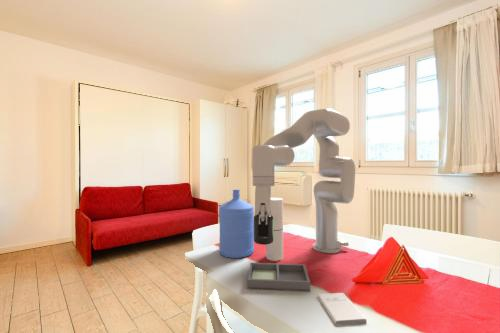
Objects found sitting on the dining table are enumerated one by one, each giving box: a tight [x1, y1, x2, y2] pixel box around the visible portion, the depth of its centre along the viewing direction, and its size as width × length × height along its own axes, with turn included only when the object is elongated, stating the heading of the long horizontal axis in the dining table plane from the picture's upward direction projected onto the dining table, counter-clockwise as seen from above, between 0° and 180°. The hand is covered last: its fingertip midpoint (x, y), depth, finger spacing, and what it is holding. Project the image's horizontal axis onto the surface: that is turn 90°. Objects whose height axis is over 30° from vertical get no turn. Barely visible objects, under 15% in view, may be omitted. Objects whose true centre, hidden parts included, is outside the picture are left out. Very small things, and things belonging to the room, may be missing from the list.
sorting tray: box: [246, 262, 311, 292], centre depth 85 cm, size 20×13×3 cm, turn 85°
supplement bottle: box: [253, 211, 273, 246], centre depth 85 cm, size 7×7×12 cm
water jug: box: [218, 189, 255, 259], centre depth 110 cm, size 16×16×28 cm
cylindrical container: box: [265, 197, 284, 262], centre depth 104 cm, size 7×7×25 cm
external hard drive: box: [317, 292, 367, 325], centre depth 68 cm, size 2×8×12 cm
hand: (263, 232), depth 85 cm, fingers closed on supplement bottle, 6 cm apart
